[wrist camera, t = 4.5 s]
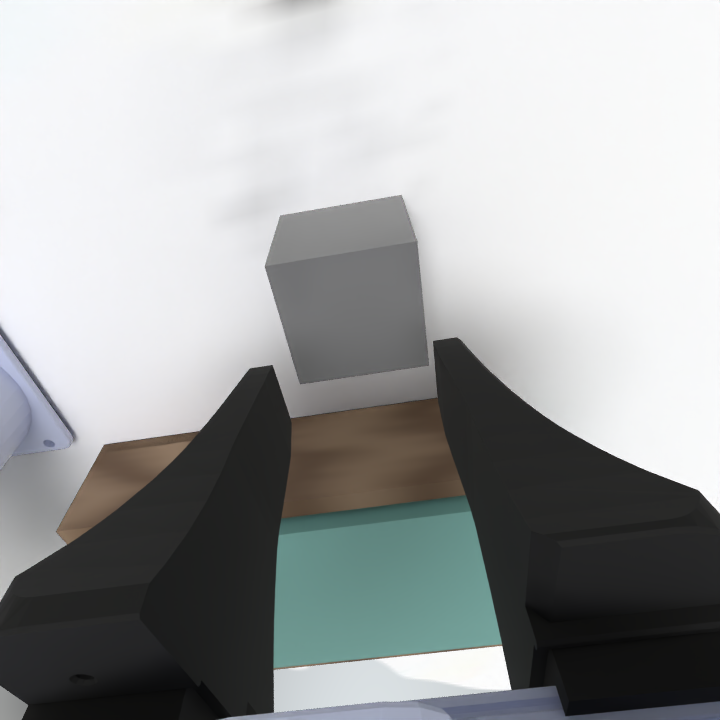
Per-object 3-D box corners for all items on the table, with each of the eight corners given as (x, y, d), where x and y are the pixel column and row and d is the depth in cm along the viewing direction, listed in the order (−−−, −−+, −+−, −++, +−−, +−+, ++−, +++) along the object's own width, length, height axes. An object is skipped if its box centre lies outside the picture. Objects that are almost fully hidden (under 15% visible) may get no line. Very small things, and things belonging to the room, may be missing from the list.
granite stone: (307, 318, 20) (299, 384, 17) (280, 215, 18) (264, 266, 14) (412, 301, 20) (428, 365, 16) (401, 194, 17) (417, 241, 14)
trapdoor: (210, 628, 29) (200, 675, 27) (123, 506, 22) (100, 557, 20) (497, 596, 28) (509, 643, 26) (499, 457, 21) (516, 505, 19)
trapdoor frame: (205, 596, 33) (185, 678, 29) (104, 445, 24) (55, 531, 20) (493, 563, 31) (515, 644, 27) (494, 390, 23) (527, 470, 19)
